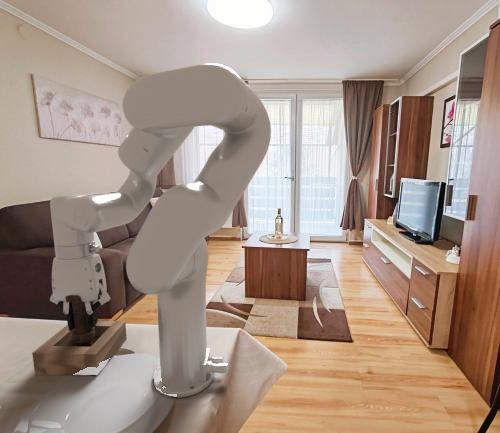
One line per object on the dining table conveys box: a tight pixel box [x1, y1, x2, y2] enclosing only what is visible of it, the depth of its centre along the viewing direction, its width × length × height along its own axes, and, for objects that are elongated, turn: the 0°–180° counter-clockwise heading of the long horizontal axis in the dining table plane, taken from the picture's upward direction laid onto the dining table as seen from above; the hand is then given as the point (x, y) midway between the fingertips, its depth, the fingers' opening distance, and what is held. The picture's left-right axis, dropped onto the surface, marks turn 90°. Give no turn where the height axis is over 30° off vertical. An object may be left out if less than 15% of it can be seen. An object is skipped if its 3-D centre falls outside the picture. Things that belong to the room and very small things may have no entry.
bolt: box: [65, 295, 95, 347], centre depth 66 cm, size 6×5×15 cm
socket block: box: [31, 320, 127, 376], centre depth 67 cm, size 14×14×5 cm
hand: (83, 327), depth 67 cm, fingers closed on bolt, 3 cm apart
